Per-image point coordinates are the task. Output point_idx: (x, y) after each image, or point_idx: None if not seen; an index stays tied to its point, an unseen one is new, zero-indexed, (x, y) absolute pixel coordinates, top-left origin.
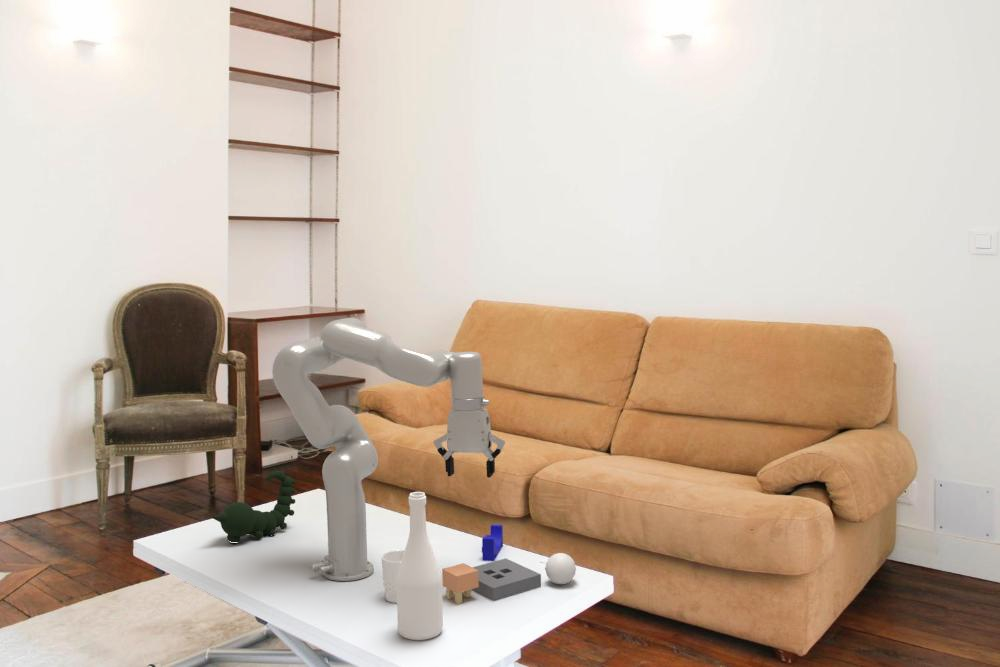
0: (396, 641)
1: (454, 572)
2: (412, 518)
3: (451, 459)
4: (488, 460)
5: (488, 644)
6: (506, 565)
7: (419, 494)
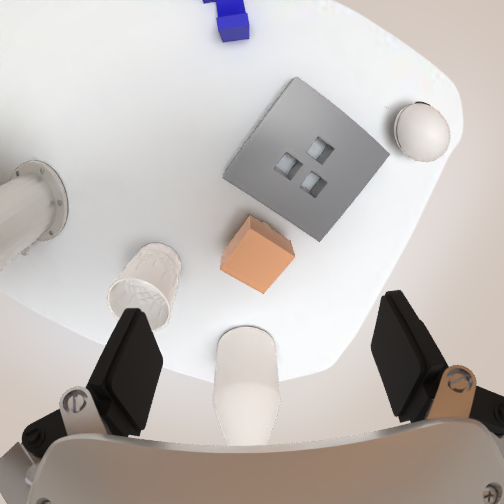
0: None
1: (252, 279)
2: None
3: (130, 415)
4: (410, 412)
5: (336, 345)
6: (312, 118)
7: None
